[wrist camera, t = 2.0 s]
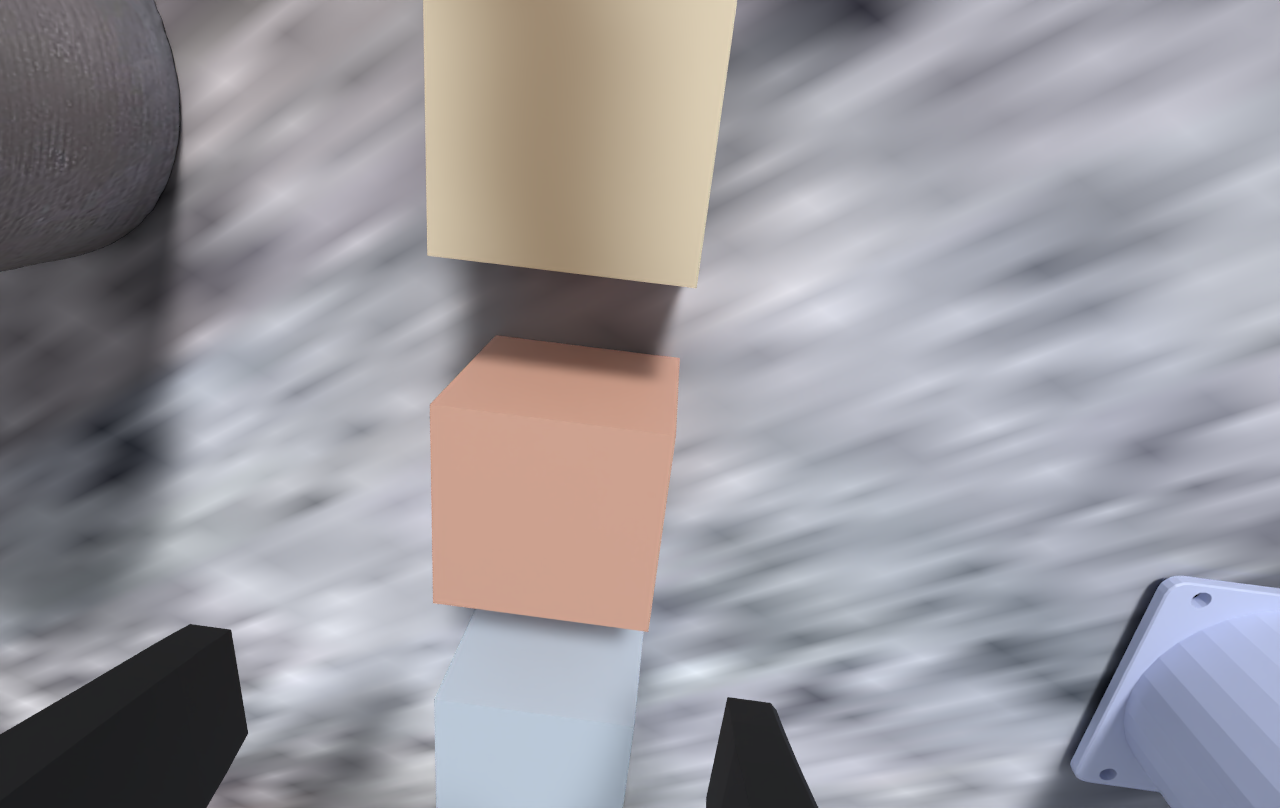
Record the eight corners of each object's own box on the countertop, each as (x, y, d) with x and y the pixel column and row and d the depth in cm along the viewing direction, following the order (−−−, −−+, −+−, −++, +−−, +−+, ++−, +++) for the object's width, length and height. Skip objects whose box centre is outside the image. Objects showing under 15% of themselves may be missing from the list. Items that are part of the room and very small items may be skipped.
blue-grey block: (646, 596, 21) (634, 726, 16) (630, 713, 23) (615, 860, 18) (490, 575, 21) (434, 699, 17) (487, 693, 23) (436, 834, 18)
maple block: (726, 19, 15) (741, -32, 10) (694, 244, 17) (696, 288, 12) (504, -6, 15) (421, -67, 10) (499, 221, 17) (427, 255, 12)
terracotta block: (679, 357, 18) (675, 435, 13) (657, 515, 20) (648, 631, 15) (496, 334, 18) (430, 404, 13) (492, 493, 20) (433, 602, 15)
